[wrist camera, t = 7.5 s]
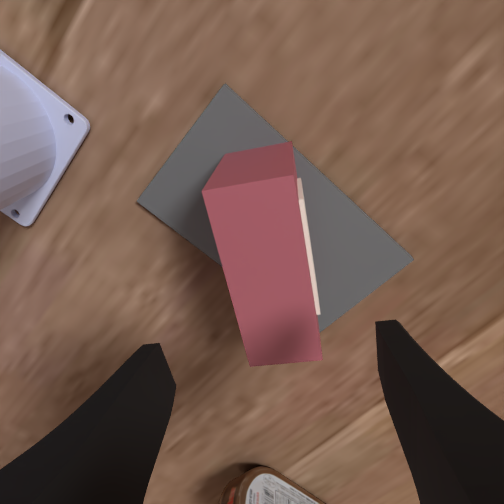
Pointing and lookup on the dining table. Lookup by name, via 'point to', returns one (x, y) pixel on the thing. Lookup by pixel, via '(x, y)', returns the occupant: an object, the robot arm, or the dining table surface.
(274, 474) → the tin
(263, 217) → the box
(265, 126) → the mat
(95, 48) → the dining table surface
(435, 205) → the dining table surface
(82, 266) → the dining table surface
